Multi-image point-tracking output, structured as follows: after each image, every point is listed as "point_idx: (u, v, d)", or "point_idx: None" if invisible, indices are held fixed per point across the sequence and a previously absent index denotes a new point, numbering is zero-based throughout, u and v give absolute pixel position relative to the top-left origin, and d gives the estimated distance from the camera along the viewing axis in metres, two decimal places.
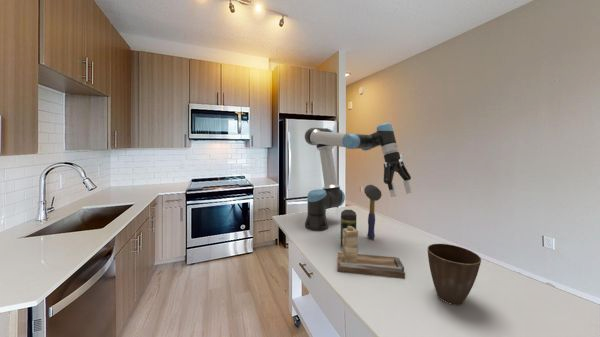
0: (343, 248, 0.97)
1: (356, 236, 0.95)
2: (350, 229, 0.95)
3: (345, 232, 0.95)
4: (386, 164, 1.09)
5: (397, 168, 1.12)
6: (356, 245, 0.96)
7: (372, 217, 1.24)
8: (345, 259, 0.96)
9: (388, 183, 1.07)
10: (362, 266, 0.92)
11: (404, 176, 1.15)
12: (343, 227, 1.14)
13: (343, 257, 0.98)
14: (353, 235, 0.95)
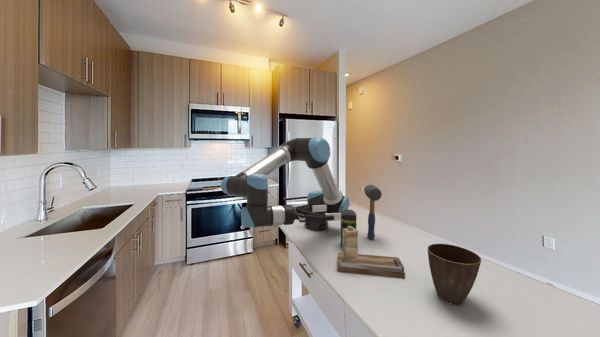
0: (343, 248, 0.97)
1: (356, 236, 0.95)
2: (350, 229, 0.95)
3: (345, 232, 0.95)
4: None
5: None
6: (356, 245, 0.96)
7: (372, 217, 1.24)
8: (345, 259, 0.96)
9: None
10: (362, 266, 0.92)
11: None
12: (343, 227, 1.14)
13: (343, 257, 0.98)
14: (353, 235, 0.95)
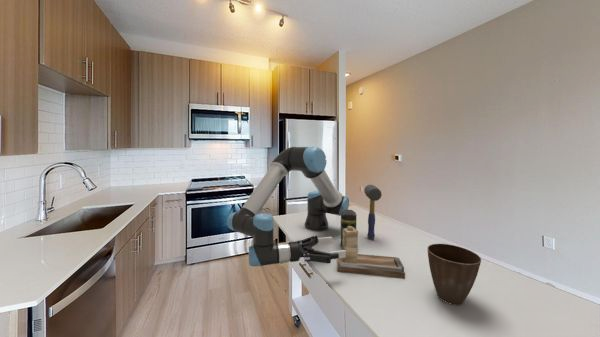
0: (343, 248, 0.97)
1: (356, 236, 0.95)
2: (350, 229, 0.95)
3: (345, 232, 0.95)
4: None
5: None
6: (356, 245, 0.96)
7: (372, 217, 1.24)
8: (345, 259, 0.96)
9: None
10: (362, 266, 0.92)
11: None
12: (343, 227, 1.14)
13: None
14: (353, 235, 0.95)
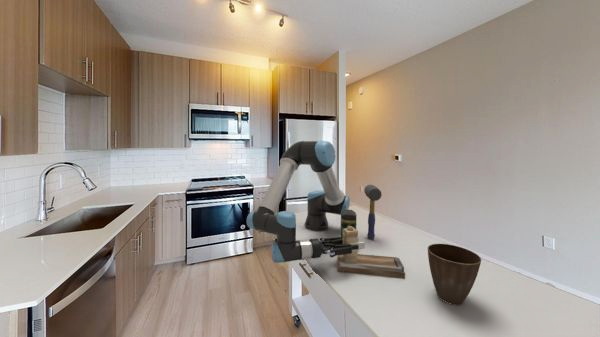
0: None
1: (356, 236, 0.95)
2: (350, 229, 0.95)
3: (345, 232, 0.95)
4: None
5: None
6: None
7: (372, 217, 1.24)
8: (345, 259, 0.96)
9: None
10: (362, 266, 0.92)
11: None
12: (343, 227, 1.14)
13: (343, 257, 0.98)
14: (353, 235, 0.95)
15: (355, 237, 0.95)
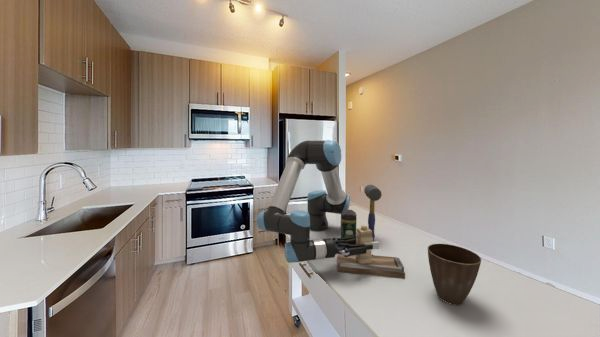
0: None
1: (370, 236, 0.93)
2: (364, 229, 0.94)
3: (359, 232, 0.94)
4: None
5: None
6: None
7: (372, 217, 1.24)
8: (358, 259, 0.95)
9: None
10: (362, 266, 0.92)
11: None
12: (343, 227, 1.14)
13: (357, 257, 0.96)
14: (367, 235, 0.93)
15: (369, 237, 0.93)
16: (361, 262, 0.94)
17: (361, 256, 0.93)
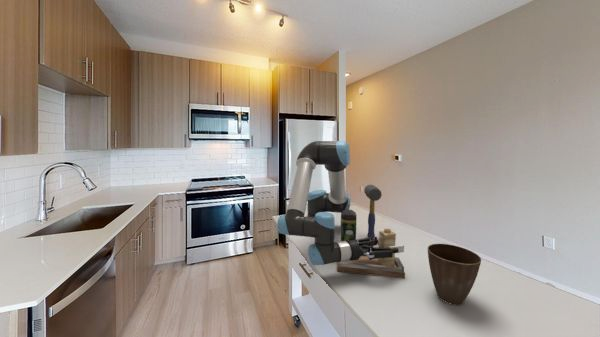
0: None
1: (394, 239, 0.93)
2: (388, 231, 0.93)
3: (382, 235, 0.93)
4: None
5: None
6: None
7: (372, 217, 1.24)
8: (381, 262, 0.94)
9: None
10: (362, 266, 0.92)
11: None
12: (343, 227, 1.14)
13: (379, 260, 0.95)
14: (390, 238, 0.92)
15: (393, 240, 0.92)
16: (384, 265, 0.93)
17: (385, 259, 0.92)
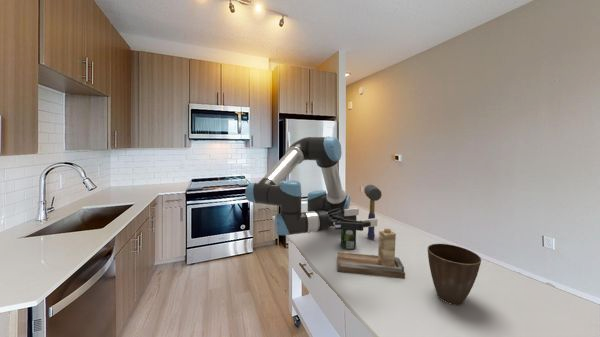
0: (379, 251, 0.95)
1: (394, 239, 0.93)
2: (388, 231, 0.93)
3: (382, 235, 0.93)
4: None
5: None
6: (394, 248, 0.93)
7: (372, 217, 1.24)
8: (381, 262, 0.94)
9: None
10: (362, 266, 0.92)
11: None
12: None
13: (379, 260, 0.95)
14: (390, 238, 0.92)
15: (393, 240, 0.92)
16: (384, 265, 0.93)
17: (385, 259, 0.92)
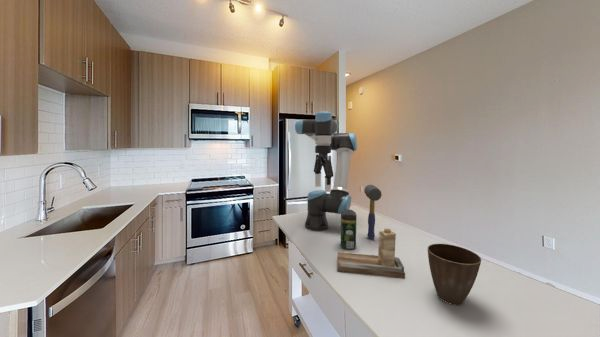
0: (379, 251, 0.95)
1: (394, 239, 0.93)
2: (388, 231, 0.93)
3: (382, 235, 0.93)
4: None
5: (320, 162, 1.08)
6: (394, 248, 0.93)
7: (372, 217, 1.24)
8: (381, 262, 0.94)
9: None
10: (362, 266, 0.92)
11: None
12: (343, 227, 1.14)
13: (379, 260, 0.95)
14: (390, 238, 0.92)
15: (393, 240, 0.92)
16: (384, 265, 0.93)
17: (385, 259, 0.92)
